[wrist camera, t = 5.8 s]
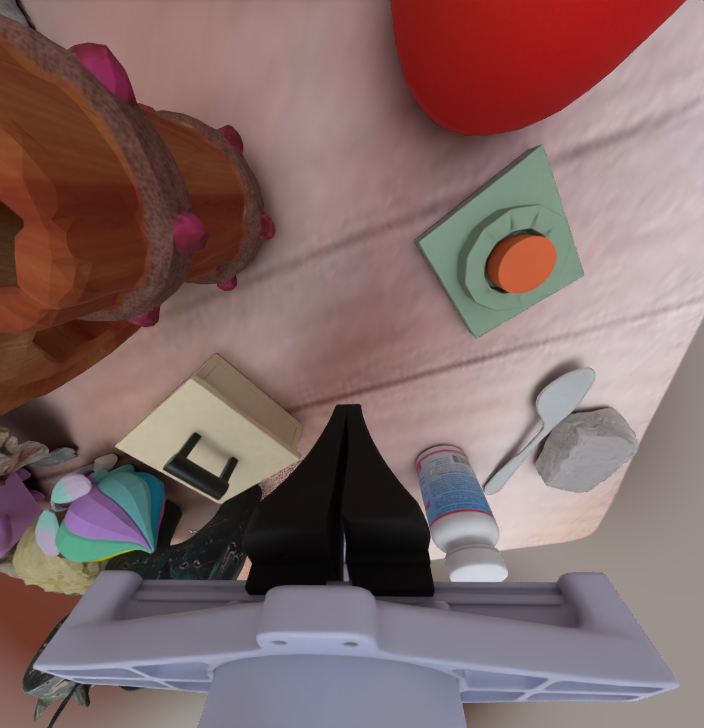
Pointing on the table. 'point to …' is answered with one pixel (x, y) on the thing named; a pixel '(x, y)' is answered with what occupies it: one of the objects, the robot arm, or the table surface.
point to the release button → (521, 263)
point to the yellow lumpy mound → (53, 565)
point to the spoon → (548, 416)
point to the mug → (103, 210)
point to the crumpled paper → (27, 455)
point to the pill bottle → (459, 516)
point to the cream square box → (248, 399)
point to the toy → (102, 512)
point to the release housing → (491, 227)
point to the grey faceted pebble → (586, 450)
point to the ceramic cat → (176, 562)
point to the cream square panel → (207, 443)
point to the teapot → (16, 509)
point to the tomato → (514, 55)
